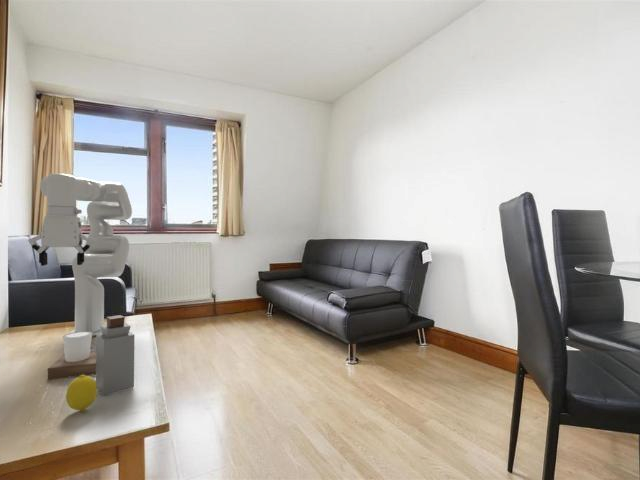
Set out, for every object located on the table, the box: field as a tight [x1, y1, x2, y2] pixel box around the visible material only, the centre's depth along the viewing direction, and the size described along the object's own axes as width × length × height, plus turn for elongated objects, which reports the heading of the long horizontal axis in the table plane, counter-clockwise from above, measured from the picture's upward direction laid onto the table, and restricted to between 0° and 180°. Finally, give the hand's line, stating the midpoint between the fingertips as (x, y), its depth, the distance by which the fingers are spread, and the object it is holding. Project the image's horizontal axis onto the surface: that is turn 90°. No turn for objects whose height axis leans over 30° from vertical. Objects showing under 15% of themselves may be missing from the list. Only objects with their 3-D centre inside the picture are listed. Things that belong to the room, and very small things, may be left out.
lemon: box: [65, 375, 98, 413], centre depth 73 cm, size 6×6×8 cm
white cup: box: [62, 332, 93, 362], centre depth 96 cm, size 7×7×7 cm
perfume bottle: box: [95, 314, 135, 397], centre depth 85 cm, size 7×7×18 cm
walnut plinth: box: [47, 350, 96, 380], centre depth 97 cm, size 12×12×3 cm
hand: (62, 264), depth 108 cm, fingers open, 9 cm apart
